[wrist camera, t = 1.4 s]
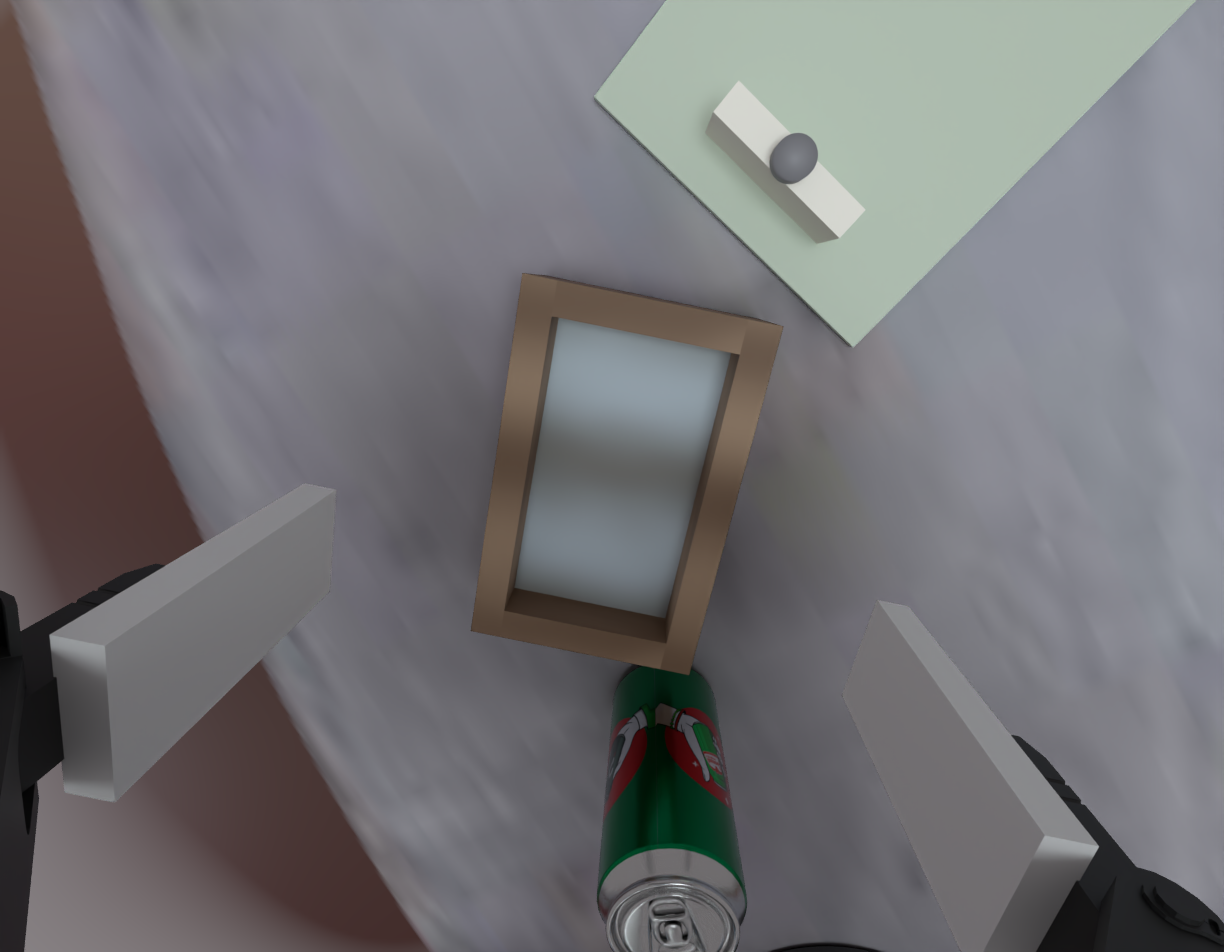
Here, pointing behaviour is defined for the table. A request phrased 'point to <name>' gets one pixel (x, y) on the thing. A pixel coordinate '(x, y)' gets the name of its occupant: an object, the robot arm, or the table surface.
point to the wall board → (866, 122)
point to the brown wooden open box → (617, 470)
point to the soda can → (668, 821)
